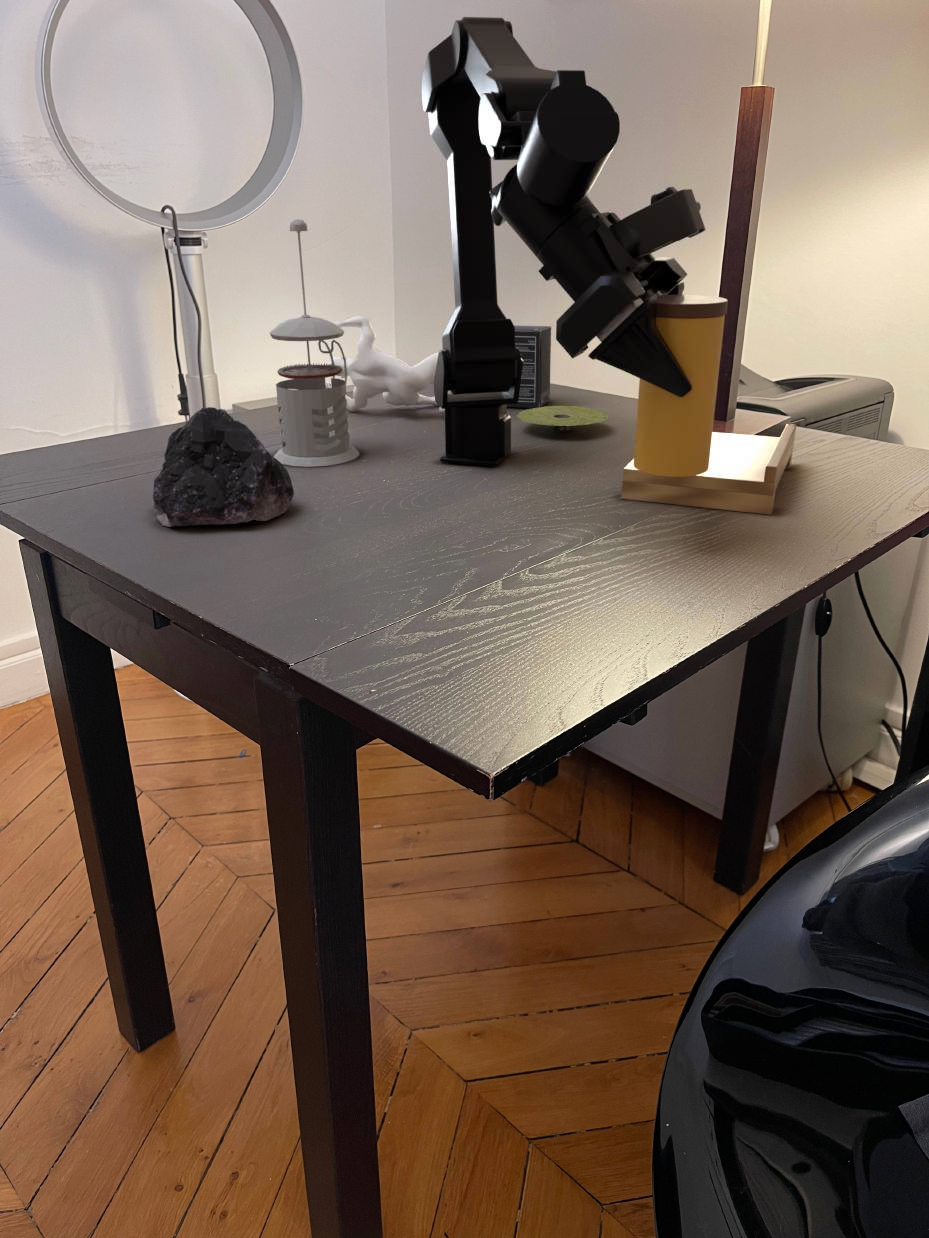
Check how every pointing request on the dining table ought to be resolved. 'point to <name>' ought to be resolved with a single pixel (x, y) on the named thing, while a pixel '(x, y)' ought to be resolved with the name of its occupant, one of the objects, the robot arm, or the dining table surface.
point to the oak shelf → (722, 475)
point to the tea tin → (684, 425)
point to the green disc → (562, 416)
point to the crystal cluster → (219, 475)
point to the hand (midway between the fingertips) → (695, 385)
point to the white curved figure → (383, 372)
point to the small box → (534, 365)
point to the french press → (312, 394)
